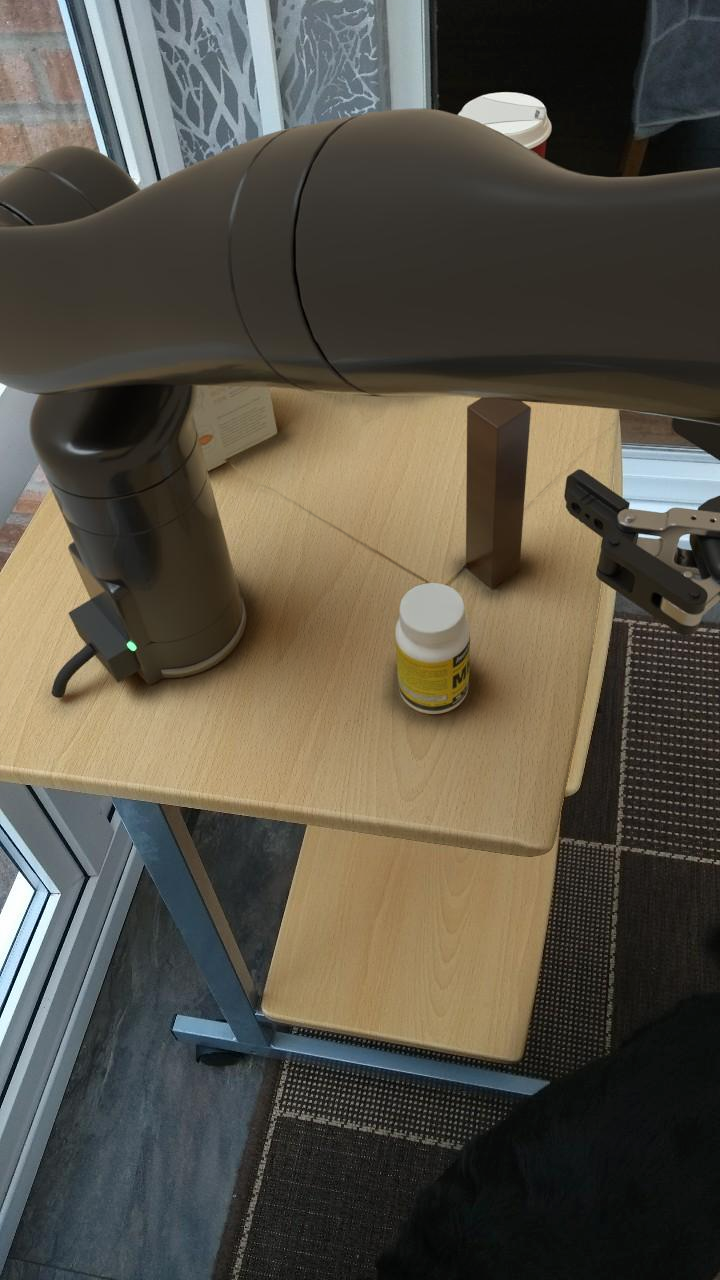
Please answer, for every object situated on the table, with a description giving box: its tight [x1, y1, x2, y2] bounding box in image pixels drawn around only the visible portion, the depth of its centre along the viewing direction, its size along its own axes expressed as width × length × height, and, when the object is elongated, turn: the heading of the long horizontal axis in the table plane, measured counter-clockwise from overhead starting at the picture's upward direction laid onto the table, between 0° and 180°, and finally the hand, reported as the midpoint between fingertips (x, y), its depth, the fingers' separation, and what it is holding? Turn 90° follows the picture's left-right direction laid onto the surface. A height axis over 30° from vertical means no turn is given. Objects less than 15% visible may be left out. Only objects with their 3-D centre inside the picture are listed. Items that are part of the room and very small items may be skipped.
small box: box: [193, 385, 278, 472], centre depth 80 cm, size 8×6×13 cm
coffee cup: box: [457, 91, 553, 158], centre depth 91 cm, size 8×8×15 cm
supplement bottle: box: [394, 582, 471, 715], centre depth 65 cm, size 5×5×8 cm
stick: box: [465, 398, 532, 590], centre depth 68 cm, size 3×3×15 cm
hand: (625, 447), depth 56 cm, fingers open, 8 cm apart
